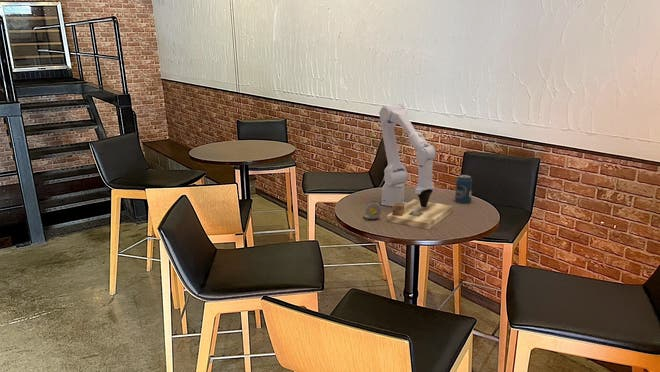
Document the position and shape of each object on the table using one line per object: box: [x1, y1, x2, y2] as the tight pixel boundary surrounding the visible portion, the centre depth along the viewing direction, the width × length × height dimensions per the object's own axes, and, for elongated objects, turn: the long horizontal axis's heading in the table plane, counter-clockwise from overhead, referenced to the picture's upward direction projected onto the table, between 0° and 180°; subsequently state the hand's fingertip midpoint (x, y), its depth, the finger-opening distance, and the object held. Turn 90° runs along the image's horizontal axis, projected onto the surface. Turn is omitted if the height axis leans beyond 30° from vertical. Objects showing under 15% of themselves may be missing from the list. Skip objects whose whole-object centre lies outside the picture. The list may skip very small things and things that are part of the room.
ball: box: [412, 211, 420, 217], centre depth 205 cm, size 4×4×4 cm
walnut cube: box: [391, 203, 404, 216], centre depth 204 cm, size 4×4×4 cm
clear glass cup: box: [363, 196, 383, 220], centre depth 206 cm, size 8×8×10 cm
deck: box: [386, 198, 454, 231], centre depth 209 cm, size 18×26×2 cm
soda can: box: [454, 174, 473, 205], centre depth 226 cm, size 7×7×12 cm
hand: (423, 206), depth 210 cm, fingers closed
